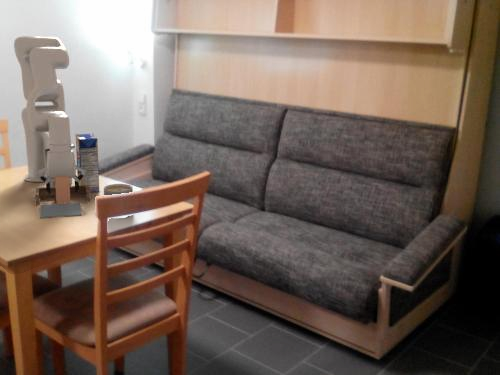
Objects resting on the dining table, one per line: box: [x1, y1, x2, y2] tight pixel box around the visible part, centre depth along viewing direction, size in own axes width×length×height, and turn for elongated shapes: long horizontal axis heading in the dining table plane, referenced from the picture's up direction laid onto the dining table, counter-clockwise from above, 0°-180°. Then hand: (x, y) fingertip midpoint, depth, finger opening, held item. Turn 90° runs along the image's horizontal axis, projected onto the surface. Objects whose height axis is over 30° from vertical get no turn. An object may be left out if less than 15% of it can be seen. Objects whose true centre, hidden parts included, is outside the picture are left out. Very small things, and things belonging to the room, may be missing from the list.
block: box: [55, 177, 72, 204], centre depth 204 cm, size 6×5×10 cm
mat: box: [39, 201, 83, 219], centre depth 194 cm, size 14×14×1 cm
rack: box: [34, 185, 91, 206], centre depth 206 cm, size 10×19×4 cm, turn 109°
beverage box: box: [75, 133, 100, 194], centre depth 218 cm, size 7×11×22 cm, turn 25°
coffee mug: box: [103, 183, 134, 196], centre depth 191 cm, size 13×10×10 cm
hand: (62, 192), depth 205 cm, fingers open, 9 cm apart
